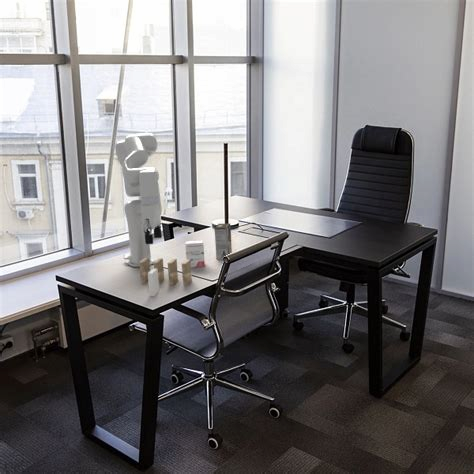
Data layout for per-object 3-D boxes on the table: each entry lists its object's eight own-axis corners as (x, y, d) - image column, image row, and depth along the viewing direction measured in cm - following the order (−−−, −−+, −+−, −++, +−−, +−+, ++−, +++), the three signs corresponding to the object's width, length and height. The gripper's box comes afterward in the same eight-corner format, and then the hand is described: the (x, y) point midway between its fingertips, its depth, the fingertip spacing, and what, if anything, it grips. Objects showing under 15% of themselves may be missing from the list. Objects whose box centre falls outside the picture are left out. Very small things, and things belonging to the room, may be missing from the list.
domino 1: (141, 283, 263) (139, 261, 260) (146, 278, 269) (144, 257, 266) (145, 283, 262) (143, 262, 260) (150, 279, 268) (149, 257, 265)
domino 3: (169, 284, 260) (167, 263, 257) (173, 280, 265) (172, 258, 263) (173, 284, 259) (171, 263, 257) (178, 280, 265) (176, 258, 262)
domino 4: (183, 285, 258) (181, 263, 256) (187, 280, 264) (186, 259, 261) (187, 285, 258) (186, 263, 255) (191, 280, 263) (190, 259, 261)
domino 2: (155, 284, 261) (153, 262, 259) (160, 279, 267) (158, 258, 264) (159, 284, 261) (157, 262, 258) (164, 279, 266) (162, 258, 264)
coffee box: (219, 253, 301) (218, 223, 296) (232, 254, 299) (230, 223, 295) (216, 259, 292) (214, 228, 288) (228, 259, 291) (227, 228, 286)
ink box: (204, 263, 287) (203, 239, 284) (204, 266, 282) (203, 242, 279) (186, 264, 286) (185, 241, 283) (186, 267, 281) (185, 244, 278)
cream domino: (149, 295, 248) (147, 273, 245) (154, 290, 253) (153, 268, 251) (154, 296, 247) (152, 273, 244) (159, 291, 253) (157, 268, 250)
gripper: (149, 196, 251) (152, 235, 256) (133, 204, 235) (137, 246, 239) (166, 196, 250) (169, 235, 254) (151, 204, 233) (154, 246, 238)
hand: (153, 240), depth 247 cm, fingers open, 9 cm apart
